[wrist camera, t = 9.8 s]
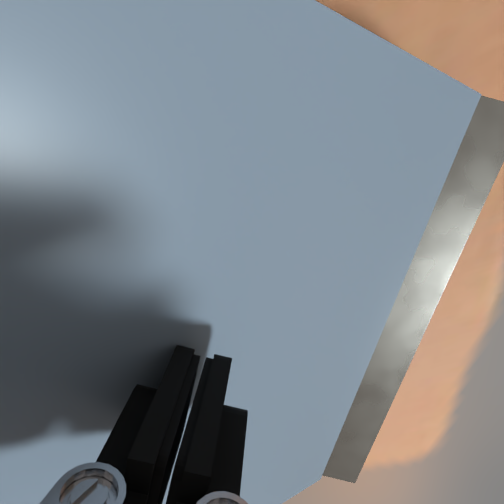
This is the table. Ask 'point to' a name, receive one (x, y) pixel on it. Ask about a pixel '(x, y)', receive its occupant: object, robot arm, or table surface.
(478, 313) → the table surface
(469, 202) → the long flat gray bar
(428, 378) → the table surface
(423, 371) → the table surface
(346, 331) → the cover
